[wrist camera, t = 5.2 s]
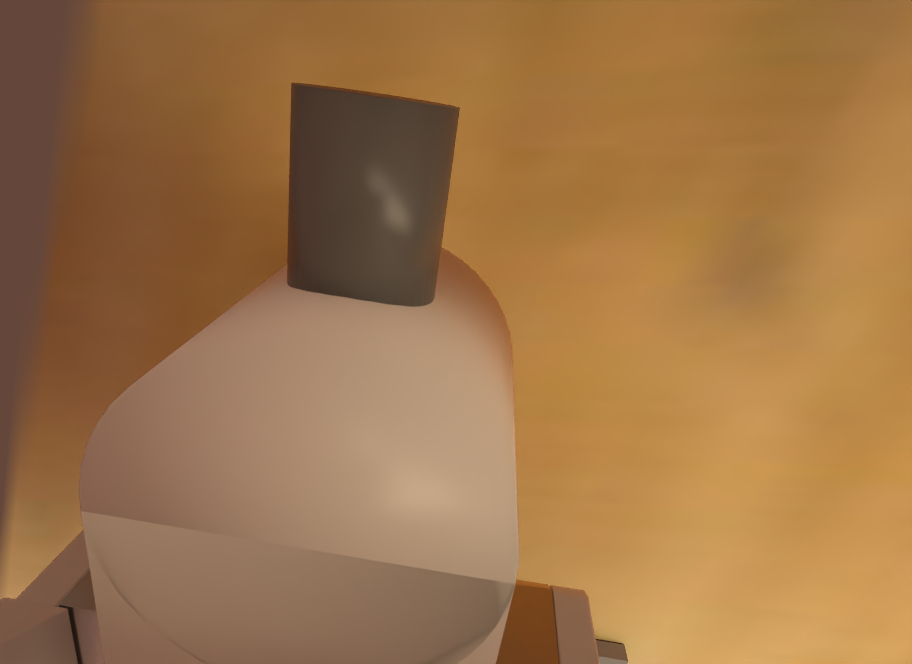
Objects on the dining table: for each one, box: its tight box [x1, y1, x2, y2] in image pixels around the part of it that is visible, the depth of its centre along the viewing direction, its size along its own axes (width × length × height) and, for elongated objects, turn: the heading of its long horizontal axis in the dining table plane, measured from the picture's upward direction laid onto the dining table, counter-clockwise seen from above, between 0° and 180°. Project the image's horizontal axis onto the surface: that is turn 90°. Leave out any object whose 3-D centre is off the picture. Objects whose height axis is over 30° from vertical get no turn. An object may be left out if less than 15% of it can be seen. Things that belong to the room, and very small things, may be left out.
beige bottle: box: [79, 83, 519, 664], centre depth 8 cm, size 14×4×4 cm, turn 172°
